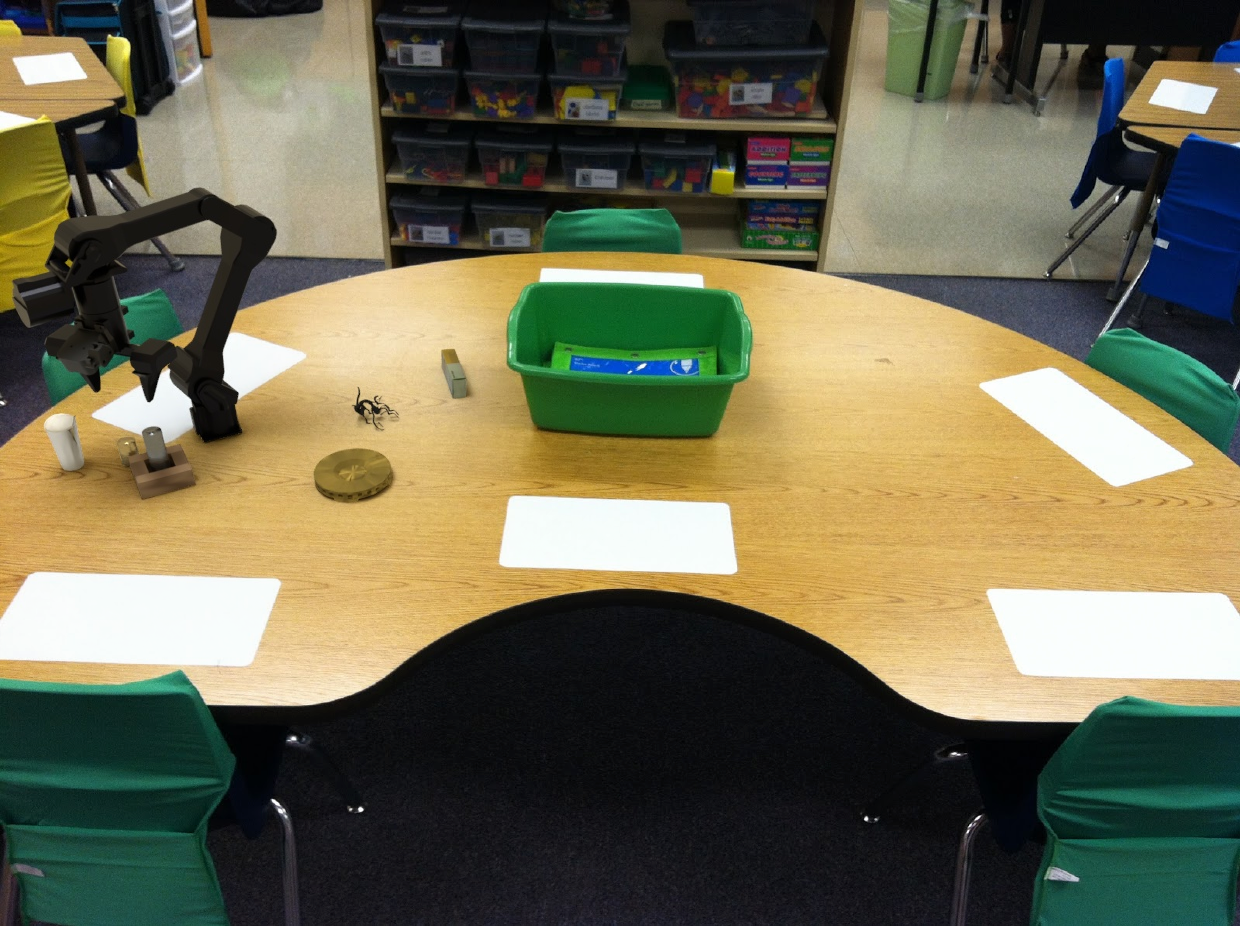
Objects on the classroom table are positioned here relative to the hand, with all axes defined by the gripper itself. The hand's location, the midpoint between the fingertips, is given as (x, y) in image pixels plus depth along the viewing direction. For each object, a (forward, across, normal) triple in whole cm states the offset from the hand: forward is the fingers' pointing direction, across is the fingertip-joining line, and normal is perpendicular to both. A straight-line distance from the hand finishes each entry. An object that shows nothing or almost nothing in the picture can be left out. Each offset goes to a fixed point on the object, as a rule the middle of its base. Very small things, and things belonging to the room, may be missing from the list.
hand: (124, 396), depth 162 cm
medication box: (+12, +39, +38) cm, 56 cm away
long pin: (+12, +6, -4) cm, 14 cm away
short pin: (+12, -1, -1) cm, 12 cm away
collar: (+12, +6, -4) cm, 14 cm away
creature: (+12, +31, +23) cm, 40 cm away
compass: (+12, +35, +5) cm, 37 cm away
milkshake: (+12, -9, -4) cm, 16 cm away
